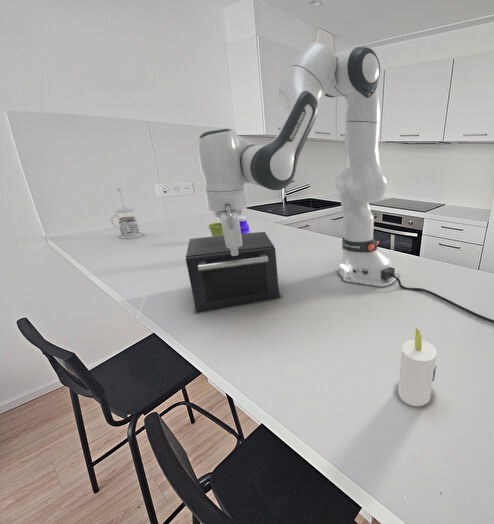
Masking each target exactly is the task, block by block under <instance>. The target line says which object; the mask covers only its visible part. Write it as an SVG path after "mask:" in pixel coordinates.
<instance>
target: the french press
mask: <svg viewBox="0 0 494 524" xmlns="http://www.w3.org/2000/svg"><path fill="white" fill-rule="evenodd" d="M116 191H117V192H119V195H120V199H121V202H122V206H123V207H120V208H117V209H116V210H115V211H114V212H115V214H113V215H112V217H111V218H110V219H111V220H110V222H111V224H112V226H113V227H114V228H117V229H119V231H120V234H121V236H120V238H121V239H124V240H125V239H128V240H129V239H135V238H140V237H142V236H143V234H142V233H141V232H140V228H139V225H138V221H137V219H136V217H135V216H127V213H133V212H134V211H135V209H134V208H131V207H126V206H124V201H123V198H122V194H121V191H122V188H119V187H118V188H116ZM117 213H118V214H122V213H123V214H125V216H123V217H120V216H119V215H118V214H117ZM115 217H117V218H118V220H119V221H118V225H119V227H118V226H116V224H115V221H114V220H115Z"/></svg>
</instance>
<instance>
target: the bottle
mask: <svg viewBox="0 0 494 524" xmlns="http://www.w3.org/2000/svg"><path fill="white" fill-rule="evenodd" d="M238 218H239V223H240V230H241V234H246V233H252V232H251V230H250V225H249V224H248V221H247V217H246V216H244V215H243V216H242V215H239V216H238Z"/></svg>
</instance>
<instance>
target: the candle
mask: <svg viewBox="0 0 494 524" xmlns="http://www.w3.org/2000/svg"><path fill="white" fill-rule="evenodd" d="M437 352H438V351H437V349H436V347H435V346H434V345H433V344H432V343H430V342H428V341H425V340H423V338H422V332H421V331H420V329H419V328H418V327H416V328H415V334H414V339H409V340H406V341H405V342H403V344H402V346H401V355H400V364H399V365H400V366H399V377H398V388H397V394H398V396H399V398H400V400H401V401H402V402H404V403H405V404H407V405H409V406H412V407H422V406H425V405H427V404H428V403H429V402H430V400H431V396H432V391H433V390H432V388H433V384H434V383H433V382H434V381H435V378H436V377H435V376H436V369H437V365H436V362H437V361H436V360H437V355H438V353H437Z"/></svg>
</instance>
